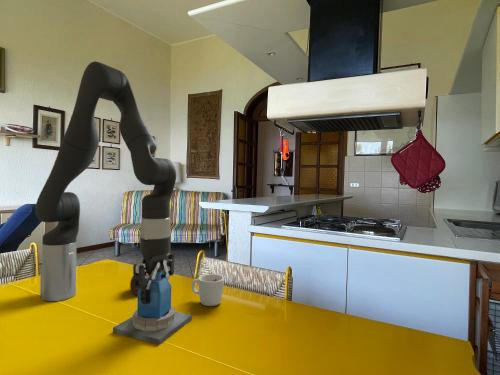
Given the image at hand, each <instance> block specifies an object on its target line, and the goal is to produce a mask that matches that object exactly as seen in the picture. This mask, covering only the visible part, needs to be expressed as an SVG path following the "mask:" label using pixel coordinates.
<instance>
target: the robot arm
mask: <svg viewBox="0 0 500 375" xmlns="http://www.w3.org/2000/svg"><path fill="white" fill-rule="evenodd" d="M131 85H132V84H131V83H130V81H129V78H128V77H127V75H126V74H125V73H124V72H123V71H121V70H119V69H117V68H114V67H112V66H109V65H107V64H106V63H102V62H99V61H96V60H95V61H91V62H90V63H89V64H88V65H87V66H86V67H85V69H84V71H83V74H82V76H81V80H80V83H79V87H78V91H77V96H76V99H75V104H74V107H73V111H72V114H71V115H70V120H69V122H68V125H67V127H66V130H65V133H64V136H63V138H62V140H61V144H60V146H59V148H58V152H57V154H56V157H55V160H54V164H53V166H52V168H51V171H50V174H49V176H48V177H47V179H46V181H45V183H44V185H43V187H42V189H41V191H40V193H39V196H38V198H37V201H36V203H35V215H36V218H37V219H38V221H40V222H42V223H56V222H57V225H56V226H55V227H54V228H53V229H51V230H50V231H47V232H46V233H44V234H43V236H42V238H41V239H42V240H41V241H42V248H41V250H42V253H41V254H42V255H41V256H42V261H41V262H42V265H41V267H40V289H39V290H40V293H39V294H40V297H41V299H42V300H43V301H45V302H58V301H59V302H60V301H64V300H68V299H70V298H73V297H75V295H76V294H77V238H78V233H79V230H80V215H81V203H80V199H79V197H78V195H77V194H76V193H74V192H70V191H66V189H67V188H68V186H69V185H70V184H71V183H72V182H73V181H74V180H75V179H77V177H78V176H80V175H81V174H82V173H83V172H85V171H86V170H87V169H88V168H89V167H90V165H91V164H92V162H93V161H94V158H95V156H96V152H97V150H98V147H99V144H100V139H99V133H98V128H97V125H96V121H95V113H96V112H95V111H96V110H97V109H96V108H97V106H98V103H99V100H100V99H101V100H105V101H110V102H113V104H114V105H115V106H116V107H117V109H118V110H119V112H120V121H119V131H120V136H121V138H122V140H123V142H124V144H125V145H126V147H127V149H128V151H129V153H130V159H131V164H132V170H133V173H134V176H135V178H136V179H137V181H138V182H140V184H143V185H145V186H153V189H152V192H151V193H149V194H146V195H144V196H143V197H142V199H141V218H140V219H141V221H140V229H139V230H140V231H139V232H140V236H139V240H140V241H139V242H140V243H139V246H140V248H139V252H140V254H141V255H142V261H141V262H140V263H138V264H136V263H134V264H133V266H132V274H133V275H132V277H134V288H137V289H140V290H141V303H143V304H149V303H150V289H149V288H150V286H151V283H152V281H153V280H154V279H155V276H156V273H157V270H158V269H159V267H160V266H162V267H161V270H162V275H161V277H166V278H167V280H168V281H169V280H170V279H171V276H173V275H174V273H175V271H174V270H175V253H170V252H171V226H172V225H171V218H170V217H171V213H170V212H171V199H172V197H173V193H174V189H175V185H176V181H177V169H176V166H175V164H174V162H173V161H172V160H170V159H168V158H163V157H162V158H161V157H153V156H152V155H153V154H155V152H157V146H158V145H157V143H156V141H155V139H154V137H153V135H152V133H151V131H150V130H149V128H148V126H147V125H146V122H145V121H144V119H143V117H142V115H141V112H140V111H141V110H140V109H139V105H138V103H137V101H136V97H135V95H134V94H135V93H134V91H133V88H132V86H131ZM146 274H147V275H150V276H146ZM139 280H140V283H139ZM146 280H148V281H147V284H145V281H146Z"/></svg>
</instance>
